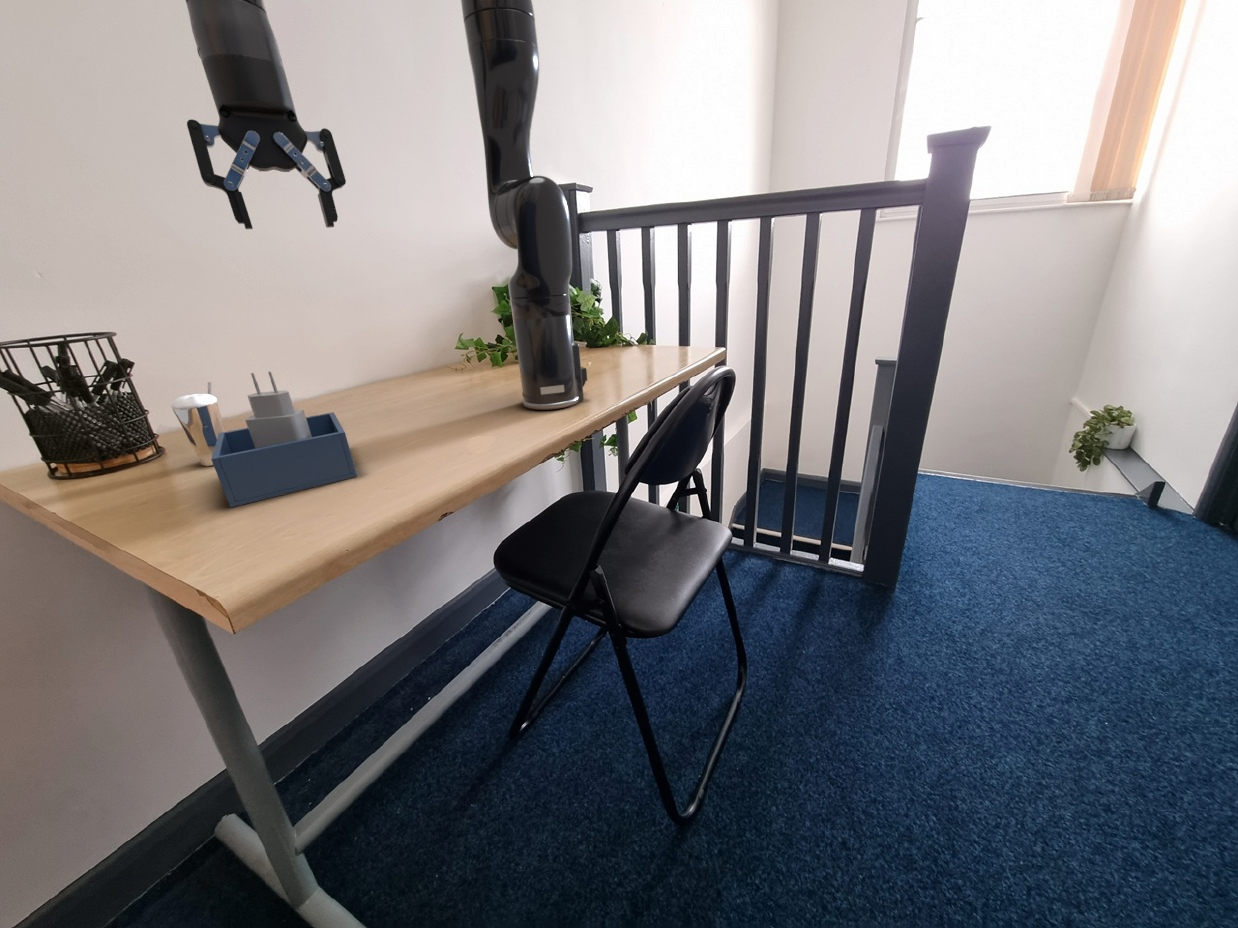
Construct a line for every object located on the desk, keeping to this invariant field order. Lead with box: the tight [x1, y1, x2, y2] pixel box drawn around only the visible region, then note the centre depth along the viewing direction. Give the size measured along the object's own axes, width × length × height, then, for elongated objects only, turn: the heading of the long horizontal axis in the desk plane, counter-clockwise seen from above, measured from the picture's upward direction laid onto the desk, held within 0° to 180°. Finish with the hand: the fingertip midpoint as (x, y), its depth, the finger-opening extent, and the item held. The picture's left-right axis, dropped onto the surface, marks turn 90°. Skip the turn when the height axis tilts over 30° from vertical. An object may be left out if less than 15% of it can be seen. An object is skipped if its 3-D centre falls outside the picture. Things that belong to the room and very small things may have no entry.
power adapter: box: [244, 371, 312, 449], centre depth 57 cm, size 3×5×12 cm, turn 95°
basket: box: [211, 411, 358, 508], centre depth 58 cm, size 12×11×6 cm
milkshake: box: [170, 381, 226, 467], centre depth 64 cm, size 4×5×10 cm
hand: (291, 228), depth 60 cm, fingers open, 8 cm apart
